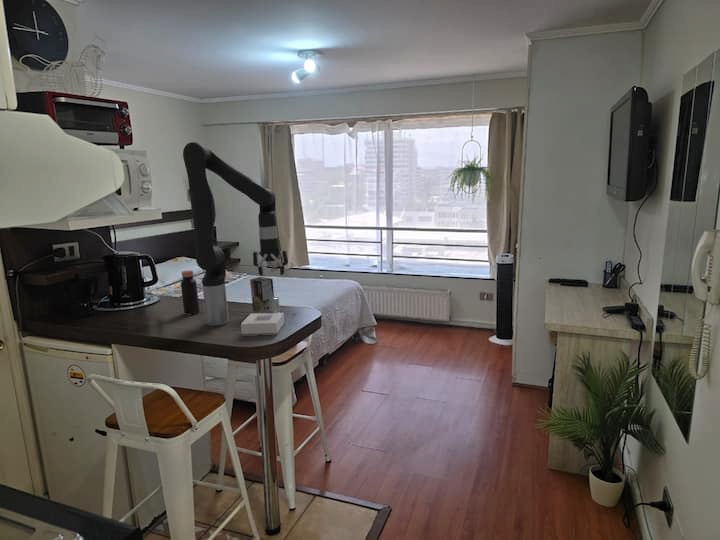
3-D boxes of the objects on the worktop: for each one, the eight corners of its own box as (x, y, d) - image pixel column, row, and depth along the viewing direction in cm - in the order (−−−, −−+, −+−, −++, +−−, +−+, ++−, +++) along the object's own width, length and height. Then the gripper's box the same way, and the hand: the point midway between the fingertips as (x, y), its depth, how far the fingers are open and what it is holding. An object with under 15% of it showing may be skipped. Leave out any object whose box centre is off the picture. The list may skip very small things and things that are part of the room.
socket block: (242, 336, 181) (240, 324, 180) (251, 324, 195) (250, 313, 194) (277, 335, 181) (276, 323, 180) (284, 324, 194) (283, 312, 193)
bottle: (181, 314, 216) (176, 272, 212) (193, 310, 221) (189, 269, 217) (190, 316, 212) (185, 273, 208) (202, 312, 217) (198, 270, 213)
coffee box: (276, 313, 211) (273, 278, 208) (264, 316, 206) (261, 281, 203) (264, 309, 217) (261, 276, 214) (252, 313, 213) (249, 278, 209)
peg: (269, 322, 198) (268, 299, 196) (272, 319, 202) (270, 297, 200) (279, 322, 197) (277, 299, 195) (281, 319, 201) (279, 297, 199)
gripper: (249, 239, 189) (252, 277, 192) (283, 237, 188) (286, 276, 191) (254, 236, 196) (257, 274, 200) (287, 235, 196) (290, 272, 199)
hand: (271, 275), depth 196 cm, fingers open, 8 cm apart
